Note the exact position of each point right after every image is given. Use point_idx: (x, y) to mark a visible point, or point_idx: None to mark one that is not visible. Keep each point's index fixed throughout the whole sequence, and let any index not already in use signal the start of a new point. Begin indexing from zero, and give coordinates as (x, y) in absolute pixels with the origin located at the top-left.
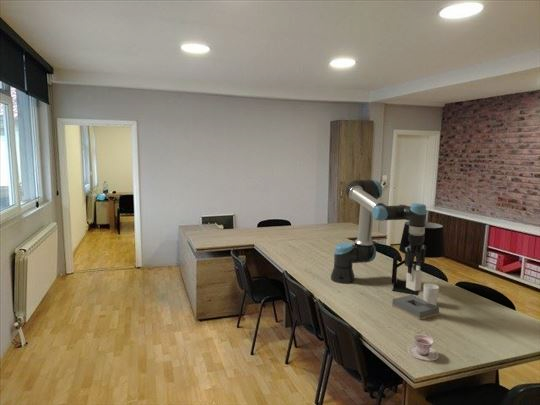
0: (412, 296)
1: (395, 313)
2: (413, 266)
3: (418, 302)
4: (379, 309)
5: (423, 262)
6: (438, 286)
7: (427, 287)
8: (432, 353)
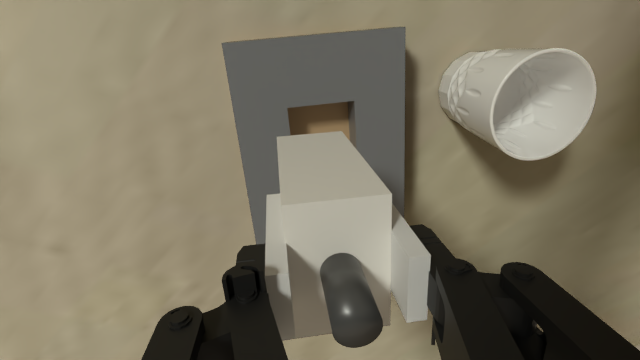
0: (389, 54)
1: (183, 135)
2: (327, 307)
3: (354, 139)
4: (113, 56)
5: (519, 345)
6: (578, 131)
7: (490, 123)
8: None
